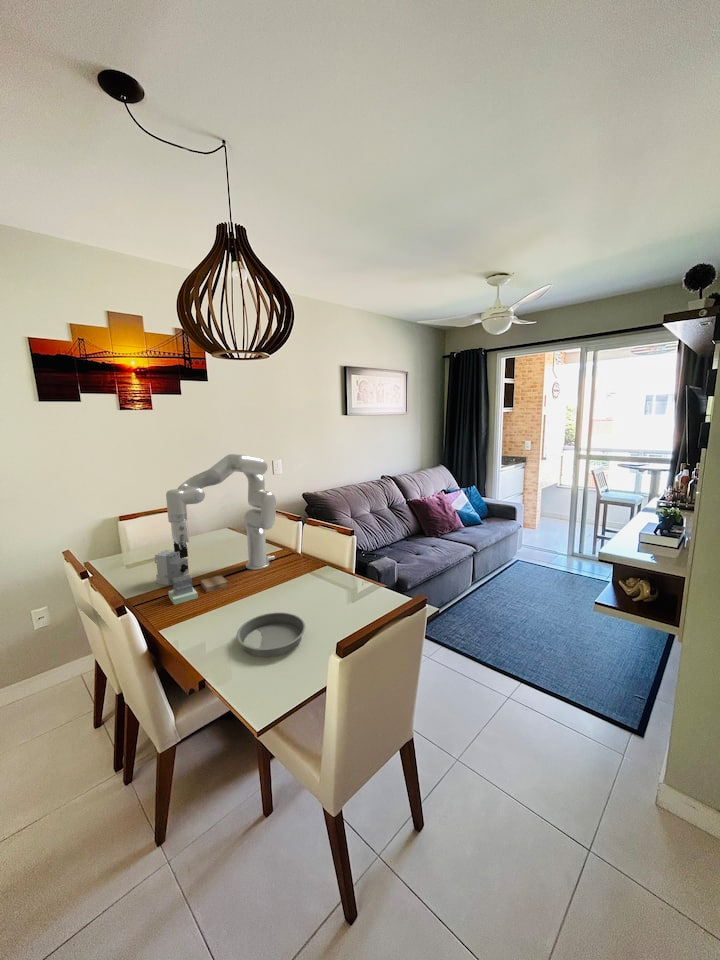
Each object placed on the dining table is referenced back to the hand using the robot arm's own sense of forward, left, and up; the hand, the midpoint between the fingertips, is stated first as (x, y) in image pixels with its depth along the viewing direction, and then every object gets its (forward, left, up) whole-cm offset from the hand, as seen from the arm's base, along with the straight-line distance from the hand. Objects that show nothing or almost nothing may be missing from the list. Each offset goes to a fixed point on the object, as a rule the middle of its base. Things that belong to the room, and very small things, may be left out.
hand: (181, 554), depth 170 cm
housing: (+1, 0, -18) cm, 18 cm away
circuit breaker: (0, -20, -21) cm, 29 cm away
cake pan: (-16, +56, -21) cm, 62 cm away
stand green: (+1, 0, -20) cm, 20 cm away
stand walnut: (-14, -3, -20) cm, 25 cm away
